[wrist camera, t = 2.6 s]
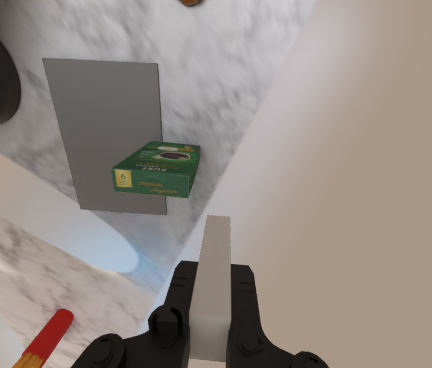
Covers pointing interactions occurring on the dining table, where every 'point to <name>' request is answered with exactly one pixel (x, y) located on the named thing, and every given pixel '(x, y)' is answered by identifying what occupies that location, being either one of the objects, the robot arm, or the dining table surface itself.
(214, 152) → the dining table surface
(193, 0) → the pastry
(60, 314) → the french fries
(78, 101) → the slate mat
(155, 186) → the coffee box
